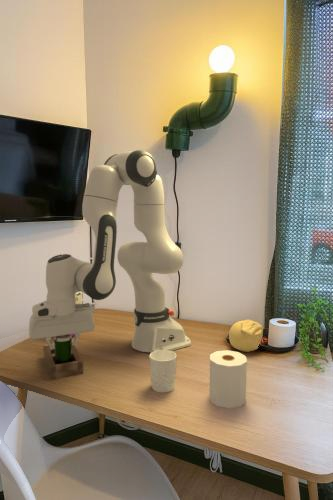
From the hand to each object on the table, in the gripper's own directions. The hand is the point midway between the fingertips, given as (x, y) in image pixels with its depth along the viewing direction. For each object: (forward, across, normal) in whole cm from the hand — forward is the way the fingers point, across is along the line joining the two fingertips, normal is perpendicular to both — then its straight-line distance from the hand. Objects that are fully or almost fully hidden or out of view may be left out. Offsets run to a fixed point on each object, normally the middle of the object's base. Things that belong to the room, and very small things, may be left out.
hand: (63, 347), depth 123 cm
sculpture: (+8, -64, +9) cm, 65 cm away
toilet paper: (+8, -39, +36) cm, 54 cm away
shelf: (+8, 0, -4) cm, 9 cm away
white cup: (+8, -25, +23) cm, 35 cm away
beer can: (+8, 0, 0) cm, 8 cm away
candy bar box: (+8, -8, -32) cm, 34 cm away
